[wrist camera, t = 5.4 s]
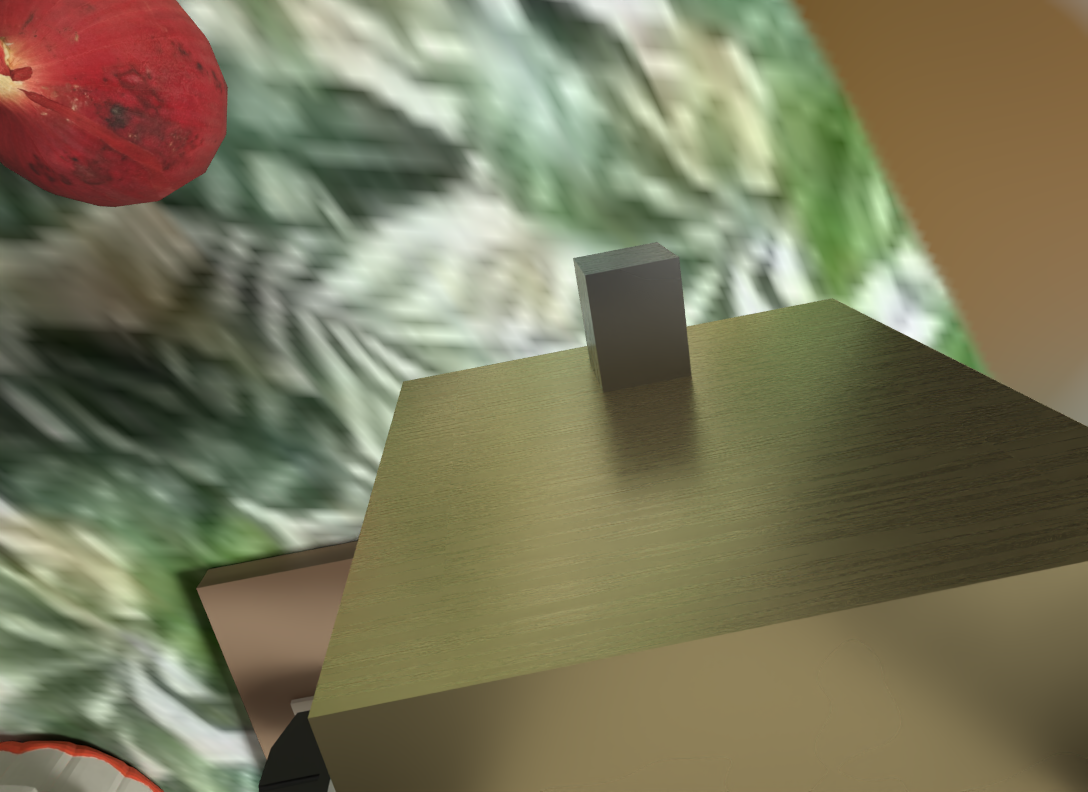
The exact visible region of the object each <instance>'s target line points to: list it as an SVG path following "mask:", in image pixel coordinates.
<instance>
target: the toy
mask: <svg viewBox="0 0 1088 792" xmlns="http://www.w3.org/2000/svg"><path fill="white" fill-rule="evenodd" d="M0 792H164V791H163V790H162V789H160V788H159V787H158V786H157V785H155V784H154V783H153V782H152V781H150V780H149V779H148V778H146V777H145V776H144V775H143V774H141V773H140V772H139V771H138V770H136V769H135V768H133V767H130V766H128V765H127V764H125V763H124V762H123V761H121V760H119V759H117V758H114V757H112V756H110V755H108V754H105V753H103V752H101V751H98V750H96V749H94V748H91V747H88V746H85V745H76V744H74V743H71V742H66V741H28V742H24V743H21V742H16V741H6V742H1V743H0Z"/></svg>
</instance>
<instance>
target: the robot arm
mask: <svg viewBox="0 0 1088 792" xmlns="http://www.w3.org/2000/svg"><path fill="white" fill-rule="evenodd" d="M309 712H310V710H308V711H303V712H298V713H297V714H296V715H295V716H294V718H293V719H292V720H291V722H290V723H289V724H288V726H287V727H286V728H285V730H284V731H283V732H282V734H281V735H280V736H279V738H278V739H277V740H276V742H275V743H274V745H273V746H272V747H271V749H270V752H269V755H268V758H267V761H266V765H265V768H264V771H263V774H262V777H261V780H260V783H259V792H336V791H335V788H334V786H333V783H332V781H331V778H330V775H329V773H328V770H327V768H326V765H325V762H324V760H323V757H322V754H321V752H320V749H319V747H318V744H317V741H316V739H315V736H314V734H313V731H312V728H311V726H310V723H309V721H308V716H309Z"/></svg>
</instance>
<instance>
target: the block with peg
mask: <svg viewBox="0 0 1088 792" xmlns="http://www.w3.org/2000/svg"><path fill="white" fill-rule="evenodd" d="M573 260H574V266H575V273H576V279H577V285H578V291H579V298H580V304H581V310H582V316H583V323H584V329H585V335H586V341H587V346H585V347H580V348H575V349H569V350H564V351H559V352H554V353H549V354H544V355H539V356H533V357H528V358H523V359H518V360H513V361H508V362H502V363H497V364H492V365H487V366H482V367H477V368H472V369H466V370H461V371H456V372H451V373H446V374H441V375H436V376H430V377H425V378H420V379H415V380H410V381H405V382H403V384H402V388H401V391H400V395H399V398H398V402H397V405H396V409H395V412H394V416H393V419H392V423H391V426H390V430H389V433H388V437H387V440H386V444H385V448H384V451H383V455H382V458H381V462H380V465H379V469H378V472H377V476H376V479H375V483H374V486H373V490H372V493H371V497H370V500H369V504H368V507H367V511H366V515H365V518H364V522H363V525H362V529H361V532H360V536H359V539H358V543H357V546H356V550H355V553H354V557H353V560H352V564H351V567H350V571H349V574H348V578H347V582H346V585H345V589H344V592H343V596H342V599H341V603H340V606H339V610H338V613H337V617H336V620H335V624H334V627H333V631H332V634H331V638H330V641H329V645H328V649H327V652H326V656H325V659H324V663H323V666H322V670H321V673H320V677H319V680H318V684H317V687H316V691H315V694H314V698H313V701H312V705H311V708H310V712H309V716H308V721H309V723H310V726H311V728H312V731H313V734H314V736H315V739H316V741H317V744H318V747H319V749H320V752H321V754H322V757H323V760H324V762H325V765H326V768H327V770H328V773H329V775H330V778H331V781H332V783H333V786H334V788H335V791H336V792H1088V427H1087V426H1085V425H1083V424H1081V423H1079V422H1077V421H1075V420H1073V419H1071V418H1069V417H1067V416H1065V415H1064V414H1061V413H1060V412H1058V411H1055V410H1053V409H1052V408H1049V407H1047V406H1045V405H1043V404H1042V403H1039V402H1037V401H1035V400H1034V399H1031V398H1030V397H1028V396H1026V395H1024V394H1022V393H1020V392H1018V391H1016V390H1014V389H1012V388H1010V387H1008V386H1006V385H1004V384H1002V383H1000V382H998V381H996V380H994V379H992V378H990V377H988V376H986V375H984V374H982V373H980V372H978V371H976V370H974V369H972V368H970V367H968V366H966V365H964V364H962V363H960V362H958V361H956V360H954V359H952V358H950V357H948V356H946V355H944V354H942V353H940V352H938V351H936V350H934V349H932V348H930V347H928V346H926V345H924V344H922V343H920V342H918V341H916V340H914V339H912V338H910V337H908V336H906V335H904V334H902V333H900V332H898V331H896V330H894V329H892V328H890V327H888V326H886V325H884V324H882V323H880V322H878V321H876V320H874V319H872V318H870V317H868V316H866V315H864V314H862V313H860V312H859V311H857V310H855V309H853V308H851V307H849V306H847V305H845V304H843V303H841V302H839V301H837V300H835V299H833V298H832V299H827V300H822V301H817V302H812V303H807V304H801V305H796V306H791V307H786V308H781V309H776V310H770V311H765V312H760V313H755V314H750V315H745V316H740V317H734V318H729V319H724V320H719V321H714V322H709V323H703V324H698V325H693V326H688V327H686V318H685V309H684V299H683V290H682V281H681V271H680V262H679V257H678V256H677V255H675V254H674V253H672V252H671V251H669V250H668V249H666V248H665V247H663V246H662V245H660V244H659V243H657V242H656V243H650V244H645V245H640V246H635V247H629V248H624V249H619V250H614V251H609V252H603V253H598V254H593V255H588V256H583V257H577V258H573Z"/></svg>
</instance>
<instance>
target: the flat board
mask: <svg viewBox="0 0 1088 792" xmlns="http://www.w3.org/2000/svg"><path fill="white" fill-rule="evenodd" d="M357 543H358V541H355V542H350V543H344V544H339V545H334V546H329V547H323V548H318V549H313V550H308V551H302V552H297V553H292V554H287V555H282V556H276V557H271V558H266V559H261V560H255V561H250V562H245V563H240V564H234V565H229V566H224V567H219V568H214V569H208V571H207V572H206V574H205V576H204V577H203V579H202V580H201V582H200V583H199V585H198V587H197V588H196V589H197V591H198V594H199V596H200V599H201V601H202V604H203V606H204V608H205V611H206V613H207V616H208V618H209V621H210V623H211V625H212V628H213V630H214V633H215V635H216V638H217V640H218V643H219V645H220V647H221V650H222V652H223V655H224V657H225V660H226V662H227V665H228V667H229V669H230V672H231V674H232V677H233V679H234V682H235V684H236V687H237V689H238V691H239V694H240V696H241V699H242V701H243V704H244V706H245V708H246V711H247V713H248V716H249V718H250V721H251V723H252V726H253V728H254V730H255V733H256V735H257V738H258V740H259V743H260V745H261V748H262V750H263V752H264V755H265V757H266V760H267V758H268V755H269V752H270V749H271V747H272V746H273V745H274V743H275V742H276V740H277V739H278V738H279V736H280V735H281V734H282V732H283V731H284V730H285V728H286V727H287V726H288V724H289V723H290V722H291V720H292V719H293V718H294V716H295V715H296V714H297V713H298V712H303V711H308V710H310V708H311V705H312V701H313V698H314V694H315V691H316V687H317V684H318V680H319V677H320V673H321V670H322V666H323V663H324V659H325V656H326V652H327V649H328V645H329V641H330V638H331V634H332V631H333V627H334V624H335V620H336V617H337V613H338V610H339V606H340V603H341V599H342V596H343V592H344V589H345V585H346V582H347V578H348V574H349V571H350V567H351V564H352V560H353V557H354V553H355V550H356V546H357Z"/></svg>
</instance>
